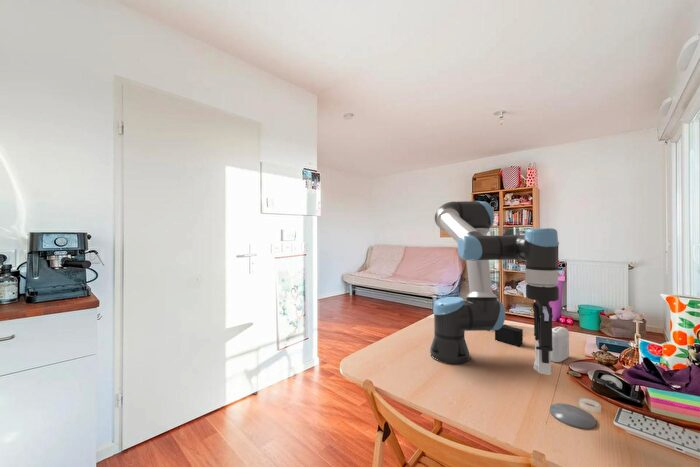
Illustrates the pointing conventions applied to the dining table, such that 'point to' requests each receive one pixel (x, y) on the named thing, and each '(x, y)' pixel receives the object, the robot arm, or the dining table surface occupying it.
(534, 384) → the dining table surface
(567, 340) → the white rounded block
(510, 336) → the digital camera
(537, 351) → the rook chess piece
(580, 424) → the grey disc
